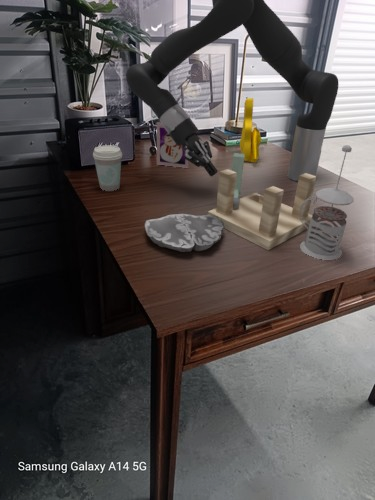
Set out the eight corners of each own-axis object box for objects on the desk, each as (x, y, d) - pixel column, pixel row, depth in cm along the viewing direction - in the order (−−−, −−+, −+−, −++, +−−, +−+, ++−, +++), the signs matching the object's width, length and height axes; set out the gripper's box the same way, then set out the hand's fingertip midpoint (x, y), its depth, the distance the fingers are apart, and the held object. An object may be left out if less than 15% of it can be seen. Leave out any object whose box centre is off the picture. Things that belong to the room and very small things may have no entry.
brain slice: (154, 264, 85) (154, 252, 83) (140, 227, 99) (140, 217, 97) (237, 253, 90) (238, 242, 88) (213, 220, 104) (213, 210, 102)
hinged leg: (239, 209, 103) (244, 169, 97) (228, 208, 103) (232, 168, 97) (239, 190, 114) (244, 153, 108) (229, 190, 114) (233, 153, 108)
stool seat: (254, 200, 115) (260, 156, 108) (313, 225, 103) (325, 176, 96) (207, 219, 103) (211, 171, 96) (268, 250, 91) (277, 197, 84)
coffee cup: (90, 190, 117) (86, 150, 111) (105, 180, 124) (102, 143, 117) (114, 195, 114) (112, 155, 108) (129, 185, 121) (127, 147, 115)
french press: (336, 265, 87) (368, 156, 74) (286, 249, 92) (308, 144, 79) (346, 247, 94) (377, 144, 81) (300, 233, 99) (321, 134, 86)
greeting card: (156, 166, 137) (156, 122, 129) (161, 159, 143) (162, 117, 136) (187, 169, 135) (189, 125, 128) (192, 163, 142) (194, 120, 134)
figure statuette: (260, 168, 139) (269, 104, 128) (238, 167, 140) (245, 103, 128) (257, 153, 154) (265, 95, 143) (237, 152, 155) (244, 93, 143)
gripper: (181, 128, 119) (214, 174, 120) (159, 138, 108) (196, 188, 110) (197, 112, 114) (232, 161, 116) (176, 121, 104) (214, 174, 106)
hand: (214, 174), depth 113 cm, fingers closed
